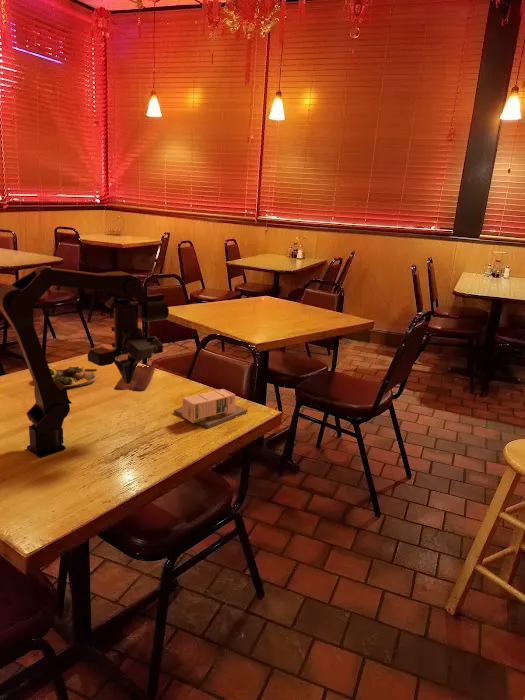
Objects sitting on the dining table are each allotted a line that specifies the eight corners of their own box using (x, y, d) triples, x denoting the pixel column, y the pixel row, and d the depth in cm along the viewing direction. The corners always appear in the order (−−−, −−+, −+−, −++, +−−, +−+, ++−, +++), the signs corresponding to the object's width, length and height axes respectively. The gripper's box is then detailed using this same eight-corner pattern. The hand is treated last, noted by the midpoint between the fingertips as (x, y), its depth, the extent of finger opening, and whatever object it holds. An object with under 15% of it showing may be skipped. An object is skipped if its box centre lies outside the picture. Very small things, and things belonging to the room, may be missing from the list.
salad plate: (86, 368, 180) (86, 355, 179) (110, 382, 168) (110, 369, 167) (29, 377, 167) (29, 364, 166) (51, 394, 155) (51, 379, 154)
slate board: (208, 428, 138) (208, 424, 138) (173, 412, 147) (174, 409, 146) (247, 412, 150) (247, 409, 150) (213, 399, 159) (213, 396, 158)
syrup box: (193, 404, 136) (236, 394, 145) (181, 397, 141) (224, 388, 150) (192, 423, 138) (235, 413, 147) (181, 416, 142) (223, 406, 151)
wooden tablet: (131, 361, 186) (158, 360, 186) (132, 367, 187) (159, 366, 187) (113, 387, 161) (145, 385, 161) (114, 394, 161) (145, 392, 161)
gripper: (111, 337, 114) (113, 401, 118) (177, 324, 128) (176, 383, 132) (85, 326, 121) (87, 388, 125) (149, 316, 135) (150, 372, 139)
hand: (127, 383), depth 130 cm, fingers closed
